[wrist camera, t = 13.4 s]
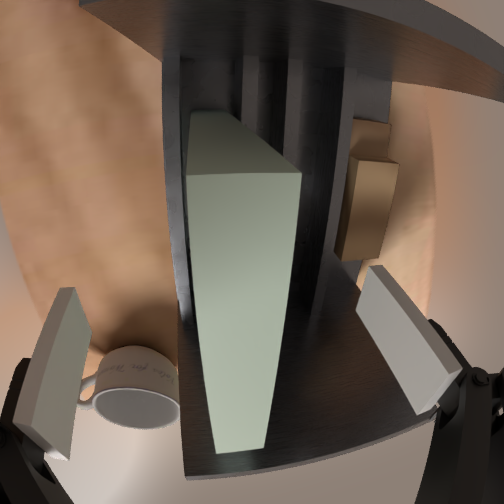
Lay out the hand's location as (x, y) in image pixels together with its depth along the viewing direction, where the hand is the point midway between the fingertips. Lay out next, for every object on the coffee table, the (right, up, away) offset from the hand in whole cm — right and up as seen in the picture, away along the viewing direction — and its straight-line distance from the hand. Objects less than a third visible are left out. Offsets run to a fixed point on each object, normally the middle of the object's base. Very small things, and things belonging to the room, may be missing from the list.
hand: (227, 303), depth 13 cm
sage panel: (-3, +7, +12) cm, 14 cm away
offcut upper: (+11, +6, +13) cm, 18 cm away
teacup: (-15, -12, +23) cm, 30 cm away
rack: (+3, +8, +14) cm, 17 cm away
